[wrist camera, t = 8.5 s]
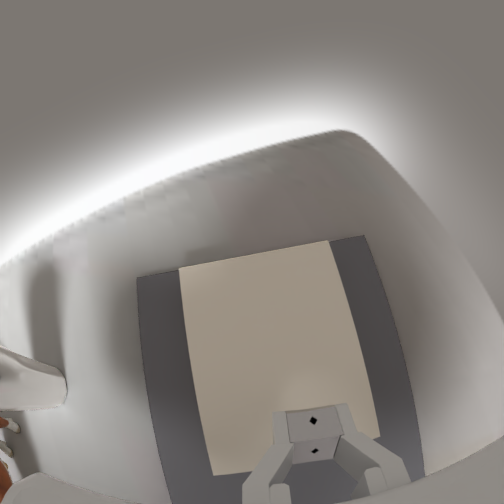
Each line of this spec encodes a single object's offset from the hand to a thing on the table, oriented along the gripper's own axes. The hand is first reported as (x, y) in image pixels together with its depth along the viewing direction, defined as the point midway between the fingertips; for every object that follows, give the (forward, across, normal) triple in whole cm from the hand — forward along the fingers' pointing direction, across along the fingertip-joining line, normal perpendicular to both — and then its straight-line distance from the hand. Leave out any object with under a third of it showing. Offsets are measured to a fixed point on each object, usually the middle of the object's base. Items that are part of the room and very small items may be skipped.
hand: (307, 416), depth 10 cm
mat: (+3, 0, +5) cm, 6 cm away
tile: (+1, 0, +5) cm, 5 cm away
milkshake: (+5, +17, +4) cm, 18 cm away
